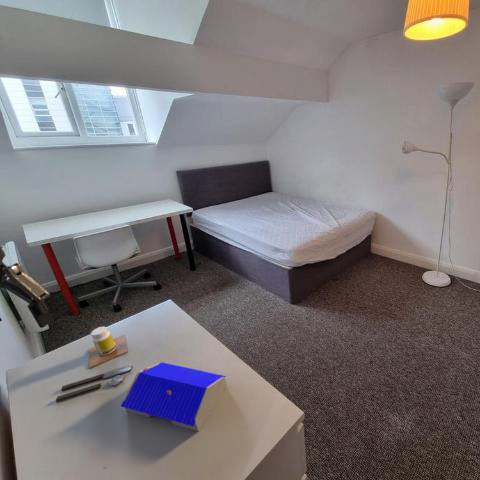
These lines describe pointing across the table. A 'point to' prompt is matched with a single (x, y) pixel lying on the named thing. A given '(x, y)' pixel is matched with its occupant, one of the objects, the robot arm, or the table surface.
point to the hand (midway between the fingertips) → (20, 324)
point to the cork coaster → (99, 359)
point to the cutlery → (113, 382)
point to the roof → (174, 394)
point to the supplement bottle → (103, 340)
